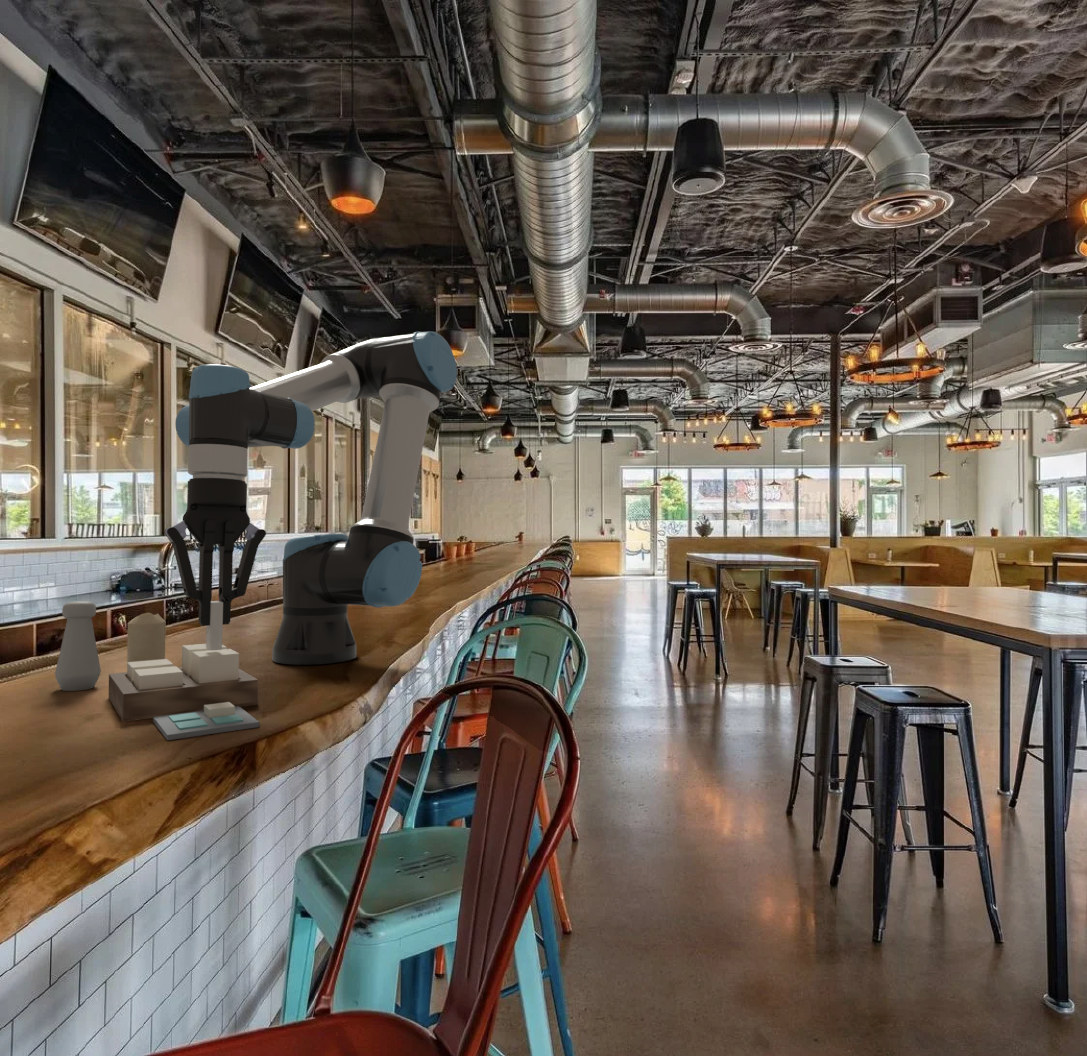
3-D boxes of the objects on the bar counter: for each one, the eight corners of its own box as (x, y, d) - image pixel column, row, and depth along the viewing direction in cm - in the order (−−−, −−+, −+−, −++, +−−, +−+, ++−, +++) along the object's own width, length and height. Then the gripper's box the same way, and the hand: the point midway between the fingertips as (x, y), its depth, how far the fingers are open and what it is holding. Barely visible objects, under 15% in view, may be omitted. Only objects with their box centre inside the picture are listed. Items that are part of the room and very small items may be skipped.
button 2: (175, 693, 98) (175, 666, 98) (182, 699, 94) (182, 671, 94) (133, 697, 95) (134, 669, 95) (139, 704, 91) (139, 675, 91)
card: (238, 710, 95) (238, 698, 95) (259, 726, 87) (259, 713, 87) (152, 721, 89) (153, 708, 89) (167, 740, 81) (167, 726, 81)
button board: (228, 684, 111) (229, 662, 111) (257, 704, 98) (257, 679, 98) (108, 697, 101) (108, 673, 101) (123, 721, 88) (123, 694, 88)
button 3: (229, 674, 102) (230, 648, 103) (238, 680, 98) (239, 653, 99) (191, 678, 99) (191, 651, 100) (199, 684, 95) (199, 656, 96)
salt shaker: (46, 689, 106) (47, 602, 106) (86, 682, 111) (87, 599, 112) (68, 693, 104) (70, 604, 104) (108, 686, 109) (110, 601, 109)
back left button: (218, 667, 108) (218, 642, 108) (226, 672, 104) (226, 646, 104) (181, 670, 105) (182, 645, 105) (188, 676, 101) (189, 649, 101)
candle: (128, 672, 120) (129, 612, 121) (165, 669, 123) (166, 611, 123) (125, 678, 115) (126, 615, 116) (163, 675, 118) (164, 614, 118)
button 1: (166, 684, 104) (166, 658, 104) (172, 690, 100) (173, 664, 100) (126, 688, 101) (127, 662, 101) (131, 695, 97) (132, 667, 97)
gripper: (259, 483, 106) (255, 642, 106) (160, 477, 98) (156, 649, 98) (274, 479, 100) (270, 648, 100) (170, 473, 92) (166, 656, 92)
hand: (213, 648), depth 99 cm, fingers closed
